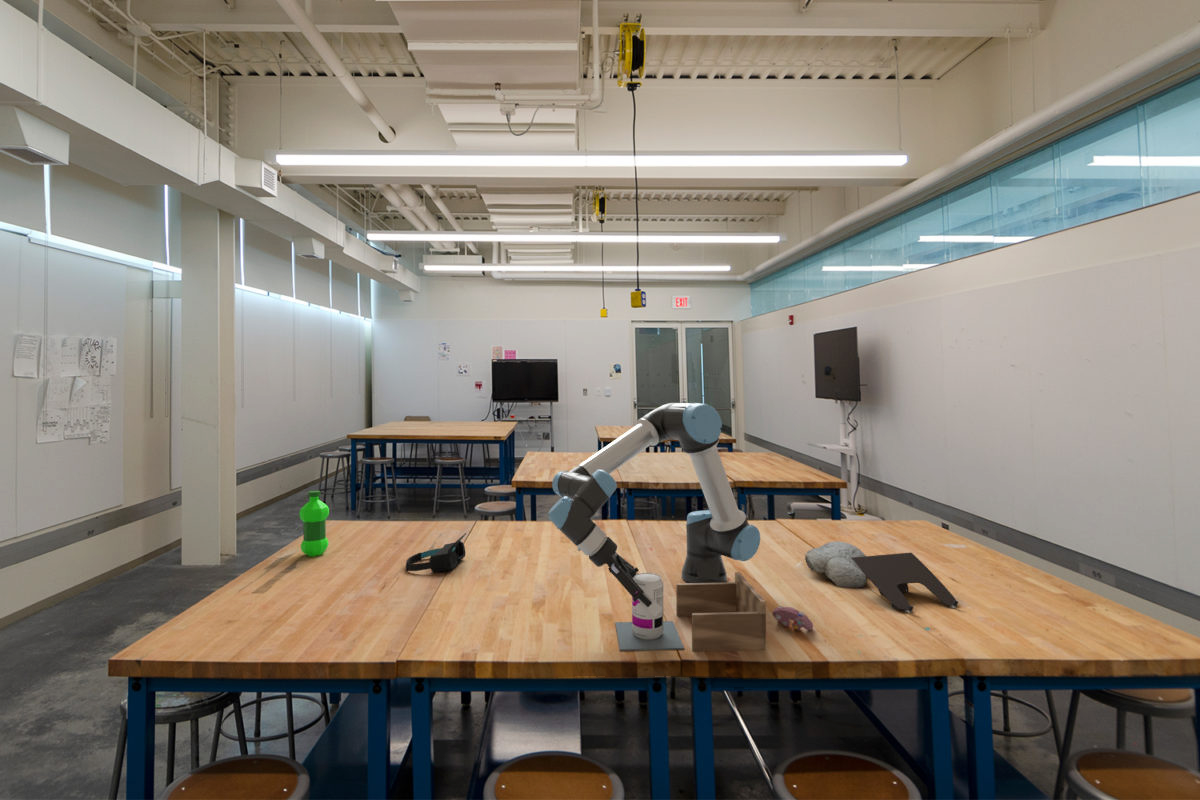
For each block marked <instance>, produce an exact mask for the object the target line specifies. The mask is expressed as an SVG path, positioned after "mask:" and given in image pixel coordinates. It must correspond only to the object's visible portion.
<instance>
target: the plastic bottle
mask: <svg viewBox="0 0 1200 800" xmlns="http://www.w3.org/2000/svg"><path fill="white" fill-rule="evenodd" d="M307 494H308V495H307V497H309V501H308V502H306V503H305V504H304V505H302V507H301V508H300V510H299V512H298V513H299V519H300V521H302V522H303V523H302V524H303V527H302V529H303V540H302V542H301V544H300V549H301V552H302V553H303V554H305V555H306V556H307V555H308V557H317V556H316V555H319V556H321V554H322V555H323V554H324V552H325V551H327V549H328V546H329V539H328V538H327V536H326V535H327V533H326V531H327V530H326V528H327V525H326V524H327V523H326V521H327V518H328V517H329V516H330V515H329V514H330V508H329V506H328V505H327V504H326V503H324V502H323V501H322V500H320V496H321V491H320V490H310V491H308V492H307Z"/></svg>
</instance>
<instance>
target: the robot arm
mask: <svg viewBox="0 0 1200 800" xmlns="http://www.w3.org/2000/svg"><path fill="white" fill-rule="evenodd" d="M722 427H723V423H722V419H721V416H720V414H719V412H718V411H717V409H715V407H714V406H712V405H710V404H707V403H701V402H669V403H665V404H662V405H660V406H659V407H656V408H654V409H653V410H651V411H649V412H648V413H646V414H645V415H643V416H642V417H640V418H638V420H637V421H636V425H635V426H633V427H632V428H629V430H627V431H626V432H624V433H623V434H621V435H620V436H618V437H617V438H616V439H614V440H613V441H612V442H610V443H609V444H607V445H606V446H604V447H603V448H601V449H600V450H598V451H596V452H595V453H594V454H592V455H591V456H590V457H588V458H587V459H585V460H584V461H582V462H581V463H580V464H578V465H576V466H575V467H574V468H572V469H570V470H562V471H559V472H557V473H556V474H555V475H554V477H553V478H552V483H551V485H552V486H551V487H552V491H553V492H554V493H555V494H556V495H557V496H559V497H560V499H558V501H557V502H556V503H555V504H554V505H553V506H552V507H551V509H549V511H548V513H547V516H548V519H549V521H550V522H552V524H553V525H554V526H555V527H556V529H557V530H559V531H560V532H561V533H562V534H563V535H564V536H565V537H567V538H568V539H569V540H570V541H571V542H572V543H573V544H574V546H576V547H577V549H576V550H577V551H578V552H580V551H582V553H583V554H584V555H585V556H588V559H589V560H590V561H591V562H592V563H593V564H594V565H595V566H596V567H598V568H600V567H603V566H604V565H607V566H608V568H607V569H608V571H609V573H611V574H612V575H613V576H614V577H615V579H616V580H617V581H618V582H619V583H620V584H621V585H622V587H623V588H624V589H625V590H626V591H627V592H628V594H629V595H630V596H631V597H633V598H634V599H633V601H636V600H638V601H639V602H640V603H641V604H642V605H643V606H644V607H645V608H646V609H647V610H648V611H649V612H650V613H651V614H652V615H654V616H655V617H656V616H657V615H658V614H659V613H660V612H661V611H662V610H663V611H664V608H663V609H662V607H661V606H660V605H659V604H658V603H656V602H655V601H654V600H653V599H652V598H651V597H650V596H649V595H648V594H647V593H646V592H645V591H643V590H642V589H641V588H640V587H639V585H638V584H637V583H636V582H635V580H634V577H635V575H637V574H640V573H639V572H640V571H639V568H638V567H637V566H636V567H635V566H634V565H633V564H631V563H630V562H628V561H627V560H626V559H625V558H624V557H622V556H621V555H620V554H619V553H617V549H618V544H617V543H616V542H615V541H613V539H612V538H611V537H610V536H607V533H606V532H605V531H604V530H603V529H601V527H600V526H599V525H597V524H596V523H595V522H594V521H593V520H592V519H593V518H594V516H595V515H596V514H597V513H598V512H599V510H600V509H601V508H602V507H603V506H604V505H605V504H606V503H607V502H608V500H610V499H611V496H612V495H613V494H614V492H615V491H616V489H617V487H618V484H617V481H616V480H615V479H614V477H613V476H612V475H611V474H612V473H613V472H615V471H616V470H618V469H619V468H620V467H622V466H623V465H625V464H626V463H627V462H629V461H630V460H632V459H633V458H634V457H636V456H637V455H638V454H640V453H642V451H645V449H647V448H648V447H650V446H653V447H654V446H657V445H658V444H659V443H661V442H663V441H668V440H675V441H679V445H680V447H681V450H682V452H683V453H685V454H687V455H689V458H690V459H691V463H692V467H693V468H694V471H695V473H696V476H697V479H698V481H699V485H700V487H701V491H702V493H703V495H704V499H705V501H706V504H707V506H708V509H707V510H706V509H705V510H696V511H691V512H689V513H688V514H687V516H686V525H685V526H686V557H685V559H684V563H683V565H682V569H681V579H682V580H683V581H684V582H685V583H727V579H728V578H727V570H726V567H725V565H724V561H723V558H722V556H724V557H726V558H729V559H732V560H735V561H741V562H747V561H750V560H751V559H753V557H754V556H755V555H756V554H757V551H758V550H759V546H760V544H761V543H760V542H761V533H760V530H759V529H758V527H757V526H756V525H753V524H750V523H749V522H748V518H747V516H746V513H745V512H744V511H743V510H740V509H739V508H738V504H737V501H736V498H735V495H734V493H733V491H732V488H731V483H730V481H729V479H728V476H727V473H726V470H725V468H724V464H723V461H722V458H721V456H720V453H719V450H718V444H719V442H720V436H721V433H722V430H721V429H722ZM637 591H638V592H637ZM636 592H637V593H636ZM635 593H636V594H635Z"/></svg>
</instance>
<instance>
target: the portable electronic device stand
mask: <svg viewBox="0 0 1200 800" xmlns="http://www.w3.org/2000/svg"><path fill="white" fill-rule="evenodd" d="M851 559H852V560H854V562H855V563H856V564H857V565H858V566H859V568H860V569H861V570H862V571H863V573H864V574H865V575H866V576H867V577H866V578H868V579H869V581H870V582H872V584H873V585H874V586H875V588H876V589H877V590H878V592H879V593H880V595H883V596H884V598H886V599H887V600H888V601H889V602H890V605H891V608H893V609H895V610H897V609H898V610H902V611H904V612H905V613H906V614H911V613H912V612H913V609H914V606H913V605H911V604H910V603H909V601H908V599H907V598H906V597H905V595H904V594H903V593H909V591H910V589H909V584H920V585H923V587H925V588H926V589H927V590H928V591H929V592H931V594H933V596H935V597H936V598H937V599H938V600H939V601H940V602H942V603H943V604H944V605H946V606H948V607H950V608H952V609H955V608H956V607H957V606H958V604H959V601H958V600H957V599H956V598H955V597H954V595H953V594H952V593H951V592H950V590H949V589H948V588H947V587H946V585H944V584H943V583H942V581H941V580H940V579H939V578H938V577H937V576H936V575H935V574H934V573H933V572H932V571H931V570H930V569H929V568H928V567H927V566H926V564H924V563H923V562H922V561H921V560H920V559H919V558H918V557H917V556H916V555H915V554H914V553H913V552H902V553H889V554H879V555H866V556H864V557H852V558H851Z"/></svg>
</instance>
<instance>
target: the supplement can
mask: <svg viewBox="0 0 1200 800" xmlns="http://www.w3.org/2000/svg"><path fill="white" fill-rule="evenodd" d="M636 574H637V573H636ZM634 580H635V582H636V583H637V584H638V585H639V587H640V588H641V589H642V590H643V591H645V592H646V593H647V594H648V595H649V596H650V597H651V598H652V599H653V600H654V601H655V602H656V603H658V604H659V605H660V606H661V607H662V609H663V610H662V611H661V612H660V613H659V614H658V615H657V616H656V617H655V616H654V615H652V614H651V613H650V612H649V611H648V610H647V609H646V608H645V607H644V606H643V605H642V604H641V603H640V602H639V601H638V600H636V601H633V599H634V598H633V597H632V596H631V597H632V598H631V622H632V632H633V633H634V634H635V636H636V637H638V638H641V639H646V640H653V639H657V638H659V637H660V636H661V635H662V634H663V621H664V582H663V581H664V580H663V579H662V576H660V574H657V573H652V572H640V573H639V574H637V575H635V577H634ZM637 592H638V591H637ZM637 592H636V593H637ZM636 593H635V594H636Z"/></svg>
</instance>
